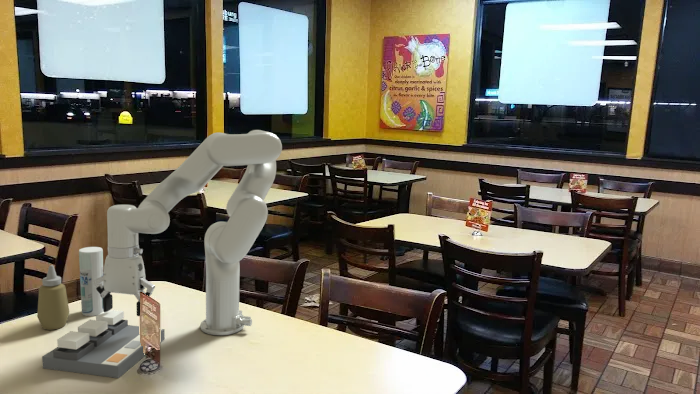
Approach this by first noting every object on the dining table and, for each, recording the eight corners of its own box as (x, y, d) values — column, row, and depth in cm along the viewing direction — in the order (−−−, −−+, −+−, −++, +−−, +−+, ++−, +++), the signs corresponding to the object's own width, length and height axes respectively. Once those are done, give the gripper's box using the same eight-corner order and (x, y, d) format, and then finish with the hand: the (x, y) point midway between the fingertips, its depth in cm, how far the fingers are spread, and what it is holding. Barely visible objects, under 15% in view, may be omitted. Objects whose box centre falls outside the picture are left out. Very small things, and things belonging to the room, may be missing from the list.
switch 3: (123, 318, 148) (123, 311, 147) (113, 325, 143) (112, 318, 143) (107, 316, 149) (107, 309, 148) (96, 323, 144) (95, 316, 143)
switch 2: (107, 328, 140) (107, 321, 140) (95, 336, 136) (95, 329, 135) (90, 326, 141) (90, 319, 141) (77, 334, 136) (77, 327, 136)
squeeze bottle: (56, 333, 148) (53, 271, 145) (31, 330, 150) (27, 268, 147) (76, 322, 156) (73, 263, 153) (52, 319, 158) (49, 260, 155)
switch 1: (89, 340, 133) (89, 333, 133) (76, 349, 128) (76, 341, 128) (71, 338, 134) (71, 331, 134) (57, 347, 129) (57, 339, 129)
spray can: (77, 312, 163) (74, 249, 160) (97, 306, 169) (95, 245, 165) (87, 318, 160) (85, 253, 156) (108, 312, 165) (106, 249, 161)
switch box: (164, 339, 148) (164, 323, 147) (118, 378, 127) (117, 360, 126) (98, 331, 151) (98, 316, 150) (42, 368, 130) (41, 350, 129)
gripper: (160, 250, 144) (161, 310, 147) (102, 245, 147) (103, 304, 149) (146, 258, 137) (146, 321, 140) (84, 251, 139) (86, 313, 142)
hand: (124, 312), depth 145 cm, fingers open, 9 cm apart
